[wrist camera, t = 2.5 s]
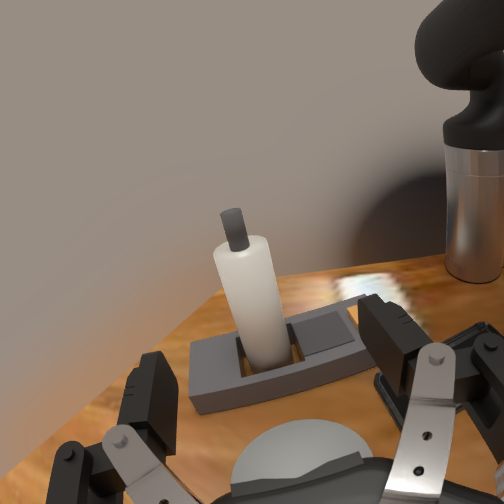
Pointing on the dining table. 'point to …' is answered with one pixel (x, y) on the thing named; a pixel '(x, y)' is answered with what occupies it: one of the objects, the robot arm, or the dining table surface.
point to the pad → (296, 450)
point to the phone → (400, 404)
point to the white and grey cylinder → (253, 295)
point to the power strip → (286, 378)
